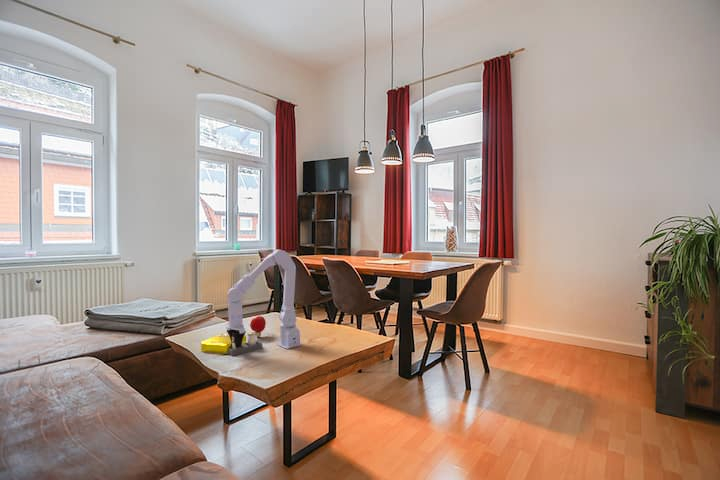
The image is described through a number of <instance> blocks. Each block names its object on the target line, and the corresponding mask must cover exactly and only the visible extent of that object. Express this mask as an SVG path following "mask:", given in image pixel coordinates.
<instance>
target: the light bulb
mask: <svg viewBox="0 0 720 480" xmlns="http://www.w3.org/2000/svg"><path fill="white" fill-rule="evenodd" d="M266 325H267V322H266V318H265V317H264V316H262V315H261V316H260V315H258V316H256V317H254V318H252V319H251V320H250V324H249V326H250V330H252V332H256V338H260V337H261V336H262V332H263V331H264V330H265V328H266Z"/></svg>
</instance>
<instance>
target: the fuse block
mask: <svg viewBox="0 0 720 480" xmlns="http://www.w3.org/2000/svg"><path fill="white" fill-rule="evenodd" d="M260 349H263V342H260V341H259V340H257V339H256V345H251V346H248V342H246V343H243V344H242V345H241V348H239V349H235V350H233V349H231V348H227V351H228V355H229V356H231V357H233V356H236V355H241V354H245V353H249V352H253V351H257V350H260Z"/></svg>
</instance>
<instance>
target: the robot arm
mask: <svg viewBox="0 0 720 480" xmlns="http://www.w3.org/2000/svg"><path fill="white" fill-rule="evenodd" d="M276 265H279V266H280V267H281V268H282V269H283V270H284V279H283V295H282V296H283V297H282V305H281V310H280V312H279V314H278V317H279V320H280V321H281V322H280V323H279V334H280V335H279V339H280V340H279V341H280V342H277V343H276V345H277V346H280V347H282V348H283V349H286V350H288V349H289V350H290V349H291V348H296V347H300V346H302V343H301V335H300V334H301V333H300V330H299V328H297V316H296V309H295V305H294V304H295V289H296V287H295V286H296V276H297V275H296V271H297V267H296V264H295V262H294V261H293V258H292V257H291V255H290V254H289V253H288V252H287V251H286V250H282V249H279V248H278V249H274V250H272V252H271V253H268V255H267V256H266V257H265V258H264V259H263V260H262V261H261V262H259V264H258V265H257V266H256V268H254V269H253V270H252V272H251V273H249V274H248V273H247V274H245V275H242V276H241V277H240V279H239V280H238V281H237V282H236V283H235V284H233V285H232V287H231V288H230V289H228V291H227V298H228V301H227V302H228V303H227V304H228V306H227V307H228V308H227V309H228V322H227V326H226V327H225V329H226V334H229V337H230V340H231V343H232V336H233V337H234V341H235V347H236V348H239V347H241V345H242V340H243V337H244V335H246V331H247V330H246V329H245V327H244V324H243V319H244V318H243V304H242V299H243V296H244V295H245V294H246V293H248V291H249V290H250V289H251V288H252V287H253V286H254V285H255V284H256V279H257V278H259V276H261V274H263V273H264V272H265V271H266V270H267V269H268V268H269V267H274V266H276Z"/></svg>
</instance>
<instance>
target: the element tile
mask: <svg viewBox="0 0 720 480" xmlns="http://www.w3.org/2000/svg"><path fill="white" fill-rule="evenodd" d="M243 343H247V335H246V334H245V335H244V337H243V340H242V344H243ZM227 348H231V349H232V343H231V340H230V337H229V334H228V333H219V334H216V335H215V336H212V337H210V338H208V339H205V340H203V341H201V342H200V350H201V351H200V352H202V353H210V354H211V353H213V354H223V355H225V354H226V355H227V354H228V351H227ZM228 355H229V354H228Z"/></svg>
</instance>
